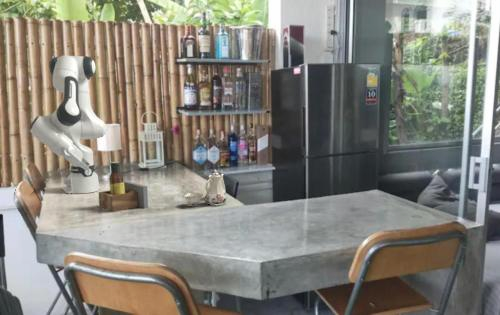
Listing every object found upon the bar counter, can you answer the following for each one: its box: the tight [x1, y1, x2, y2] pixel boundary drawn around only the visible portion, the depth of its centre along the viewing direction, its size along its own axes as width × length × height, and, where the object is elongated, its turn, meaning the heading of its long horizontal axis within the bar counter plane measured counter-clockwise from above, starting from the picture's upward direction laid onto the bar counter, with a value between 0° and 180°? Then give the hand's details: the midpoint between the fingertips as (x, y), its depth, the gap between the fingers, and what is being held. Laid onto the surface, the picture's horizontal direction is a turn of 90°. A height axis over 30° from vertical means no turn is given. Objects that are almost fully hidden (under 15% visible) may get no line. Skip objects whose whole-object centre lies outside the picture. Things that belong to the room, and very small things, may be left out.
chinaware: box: [183, 169, 228, 208], centre depth 204 cm, size 28×17×17 cm, turn 153°
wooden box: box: [98, 189, 138, 213], centre depth 197 cm, size 12×12×7 cm
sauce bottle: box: [109, 161, 125, 195], centre depth 197 cm, size 6×6×20 cm
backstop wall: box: [124, 180, 149, 209], centre depth 203 cm, size 22×2×10 cm, turn 46°
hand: (88, 167), depth 194 cm, fingers open, 8 cm apart
